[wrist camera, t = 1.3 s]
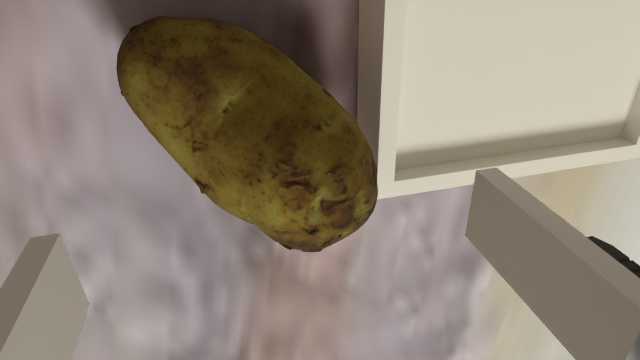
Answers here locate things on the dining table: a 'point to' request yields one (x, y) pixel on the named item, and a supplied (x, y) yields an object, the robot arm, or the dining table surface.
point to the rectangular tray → (496, 88)
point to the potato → (250, 129)
